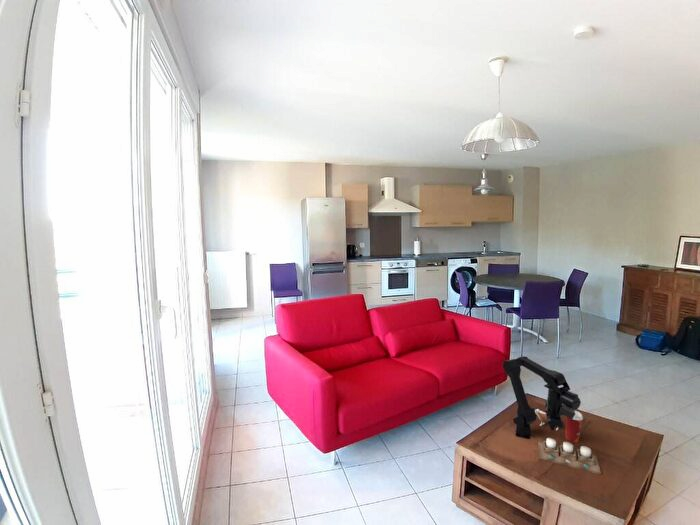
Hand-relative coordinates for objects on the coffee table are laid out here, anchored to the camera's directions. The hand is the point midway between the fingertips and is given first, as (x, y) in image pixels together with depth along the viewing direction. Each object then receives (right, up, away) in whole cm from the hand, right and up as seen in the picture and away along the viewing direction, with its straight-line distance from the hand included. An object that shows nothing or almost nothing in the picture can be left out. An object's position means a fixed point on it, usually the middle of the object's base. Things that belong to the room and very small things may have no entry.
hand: (552, 429), depth 166 cm
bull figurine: (+10, -9, +23) cm, 27 cm away
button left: (0, -9, +1) cm, 9 cm away
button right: (+13, -10, -5) cm, 17 cm away
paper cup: (+17, -11, +12) cm, 24 cm away
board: (+6, -12, -2) cm, 14 cm away
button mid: (+6, -10, -2) cm, 12 cm away
